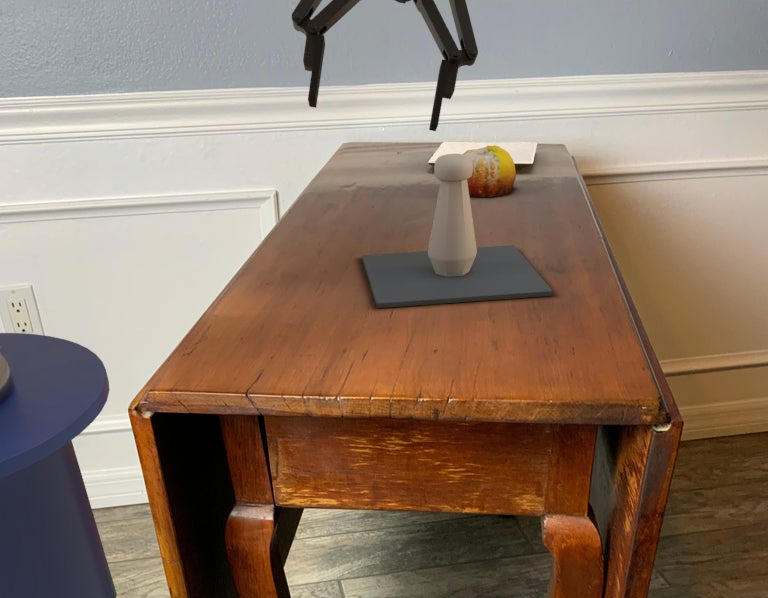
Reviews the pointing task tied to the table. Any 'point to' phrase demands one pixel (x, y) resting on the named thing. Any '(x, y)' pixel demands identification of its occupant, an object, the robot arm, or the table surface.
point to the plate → (517, 150)
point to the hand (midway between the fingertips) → (373, 116)
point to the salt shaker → (452, 218)
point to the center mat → (452, 278)
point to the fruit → (490, 172)
